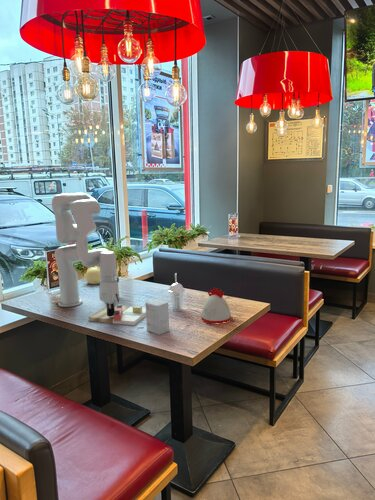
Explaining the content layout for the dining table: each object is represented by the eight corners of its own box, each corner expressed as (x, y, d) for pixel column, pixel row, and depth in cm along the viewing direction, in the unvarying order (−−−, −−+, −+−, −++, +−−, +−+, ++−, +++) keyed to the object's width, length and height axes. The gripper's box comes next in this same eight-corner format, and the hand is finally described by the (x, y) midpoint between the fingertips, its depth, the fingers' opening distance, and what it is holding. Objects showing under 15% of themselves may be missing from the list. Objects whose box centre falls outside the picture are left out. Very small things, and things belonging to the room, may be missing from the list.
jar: (108, 301, 211) (106, 280, 209) (102, 297, 218) (100, 277, 216) (123, 298, 216) (121, 277, 214) (117, 294, 223) (115, 274, 220)
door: (112, 323, 179) (112, 314, 179) (130, 310, 196) (129, 301, 195) (134, 325, 176) (133, 316, 175) (150, 311, 193) (149, 303, 192)
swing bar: (116, 313, 186) (115, 305, 185) (122, 313, 186) (122, 304, 185) (114, 321, 176) (113, 312, 175) (120, 320, 176) (120, 312, 175)
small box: (169, 330, 169) (168, 302, 166) (159, 335, 164) (157, 306, 162) (157, 326, 174) (155, 298, 172) (146, 330, 169) (144, 302, 167)
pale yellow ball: (107, 280, 255) (106, 264, 253) (100, 285, 243) (99, 268, 241) (90, 280, 256) (89, 264, 254) (83, 285, 245) (82, 268, 243)
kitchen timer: (222, 326, 172) (221, 294, 169) (195, 321, 179) (194, 289, 176) (235, 316, 183) (235, 286, 180) (210, 311, 190) (209, 282, 188)
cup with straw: (187, 307, 198) (186, 269, 194) (182, 313, 189) (181, 273, 185) (171, 306, 200) (170, 268, 196) (166, 312, 191) (164, 273, 188)
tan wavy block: (88, 320, 183) (87, 310, 182) (108, 308, 200) (107, 298, 199) (113, 323, 179) (112, 312, 178) (130, 310, 196) (130, 300, 195)
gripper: (92, 276, 181) (95, 314, 184) (111, 282, 171) (114, 321, 174) (106, 273, 186) (108, 309, 190) (125, 279, 176) (127, 317, 180)
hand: (111, 315), depth 182 cm, fingers closed
